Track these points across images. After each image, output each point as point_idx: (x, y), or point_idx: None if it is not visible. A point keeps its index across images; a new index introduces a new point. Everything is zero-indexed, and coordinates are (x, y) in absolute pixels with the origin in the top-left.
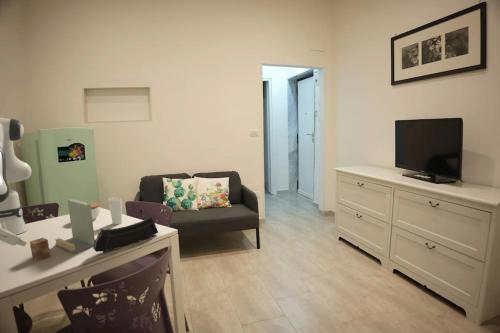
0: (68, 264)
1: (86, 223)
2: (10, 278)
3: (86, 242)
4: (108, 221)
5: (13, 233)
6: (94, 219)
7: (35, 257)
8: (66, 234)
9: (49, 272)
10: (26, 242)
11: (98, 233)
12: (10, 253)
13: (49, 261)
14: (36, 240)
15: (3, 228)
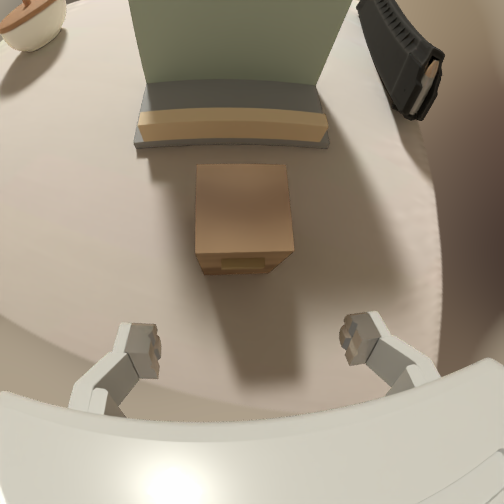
0: (411, 209)
1: (328, 7)
2: (357, 398)
3: (279, 78)
4: (119, 8)
5: (374, 420)
6: (60, 29)
7: (253, 270)
8: (68, 95)
9: (424, 279)
10: (378, 313)
11: (435, 66)
12: (38, 312)
13: (324, 238)
14: (221, 213)
15: (43, 447)
